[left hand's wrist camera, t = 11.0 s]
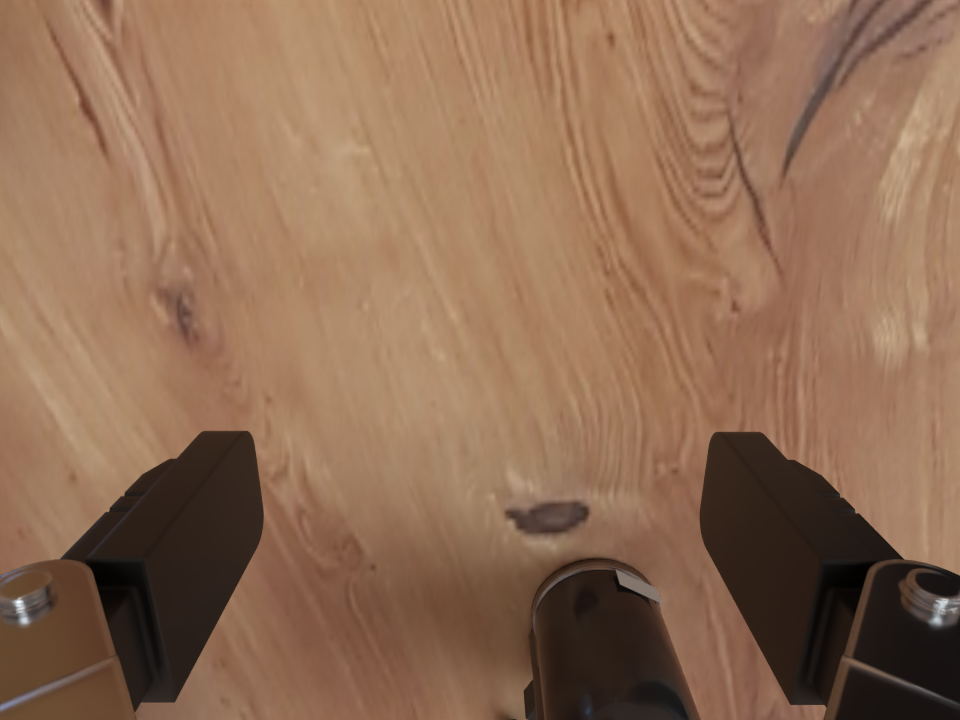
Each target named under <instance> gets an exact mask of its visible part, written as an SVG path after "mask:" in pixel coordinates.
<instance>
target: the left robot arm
mask: <svg viewBox="0 0 960 720" xmlns="http://www.w3.org/2000/svg"><path fill="white" fill-rule="evenodd" d="M263 518H264V514H263V503H262V496H261V488H260V481H259V474H258V466H257V459H256V452H255V445H254V440H253V438H252V435H251V434H250V433H249V432H248V431H203V432H201V433H200V434H199V435H198V436H197V437H196V438H195V439H194V440H193V442H192V443H191V444H190V445H189V446H188V447H187V448H186V449H185V450H184V451H183V452H182V453H181V455H180V456H179V457H178V458H177V459H169V460H167V461H165V462H163V463H162V464H160V465H158V466H156V467H155V468H153V469H151V470H149V471H148V472H146V473H144V474H142V475H141V477H140V478H139V479H138V480H137V481H136V482H135V483H134V484H133V485H132V486H131V487H130V488H129V489H128V490H127V491H126V492H125V496H121V497H120V498H119V499H118V500H117V501H116V502H115V503H114V504H113V505H112V506H111V507H110V511H109V512H105V513H104V514H103V515H102V517H101V518H100V519H99V520H98V521H97V522H96V523H95V524H94V525H93V526H92V527H91V528H90V529H89V530H88V531H87V532H86V533H85V534H84V535H83V536H82V537H81V538H80V539H79V540H78V541H77V542H76V543H75V544H74V545H73V546H72V547H71V548H70V549H69V550H68V551H67V552H66V553H65V554H64V556H63V557H62V558H61V559H60V560H48V561H42V562H38V563H33V564H30V565H26V566H23V567H20V568H17V569H15V570H12V571H10V572H7V573H5V574H3V575H1V576H0V720H137V719H136V716H135V711H136V710H137V708H138V706H139V705H140V703H141V702H175V701H176V699H177V697H178V695H179V693H180V691H181V689H182V688H183V686H184V684H185V682H186V680H187V678H188V676H189V674H190V673H191V671H192V669H193V667H194V665H195V663H196V661H197V659H198V657H199V656H200V654H201V652H202V650H203V648H204V646H205V644H206V642H207V641H208V639H209V637H210V635H211V633H212V631H213V629H214V627H215V625H216V624H217V622H218V620H219V618H220V616H221V614H222V612H223V610H224V609H225V607H226V605H227V603H228V601H229V599H230V597H231V595H232V594H233V592H234V590H235V588H236V586H237V584H238V582H239V580H240V578H241V577H242V575H243V573H244V571H245V569H246V567H247V565H248V563H249V562H250V560H251V558H252V556H253V554H254V552H255V550H256V548H257V546H258V544H259V542H260V538H261V534H262V529H263ZM700 528H701V534H702V538H703V542H704V545H705V547H706V549H707V551H708V553H709V554H710V556H711V558H712V560H713V562H714V564H715V566H716V567H717V569H718V571H719V573H720V575H721V577H722V579H723V580H724V582H725V584H726V586H727V588H728V590H729V592H730V593H731V595H732V597H733V599H734V601H735V603H736V605H737V606H738V608H739V610H740V612H741V614H742V616H743V618H744V619H745V621H746V623H747V625H748V627H749V629H750V631H751V632H752V634H753V636H754V638H755V640H756V642H757V644H758V645H759V647H760V649H761V651H762V653H763V655H764V657H765V658H766V660H767V662H768V664H769V666H770V668H771V670H772V671H773V673H774V675H775V677H776V679H777V681H778V683H779V684H780V686H781V688H782V690H783V692H784V694H785V696H786V697H787V699H788V701H789V703H790V705H825V706H826V708H827V709H826V712H825V716H824V719H823V720H960V576H959V575H957V574H955V573H953V572H950V571H948V570H945V569H943V568H940V567H937V566H934V565H930V564H927V563H922V562H918V561H912V560H904V559H903V558H902V557H901V556H900V555H899V554H898V553H897V552H896V551H895V550H894V549H893V548H892V547H891V546H890V545H889V544H888V543H887V541H886V540H885V539H884V538H883V537H882V536H881V535H880V534H879V533H878V532H877V531H876V530H875V529H874V528H873V527H872V526H871V525H870V524H869V523H868V522H867V521H866V520H865V519H864V518H863V517H862V516H861V515H860V514H856V513H855V509H854V508H853V507H852V506H851V505H850V504H849V503H848V502H847V501H846V500H845V499H844V498H840V494H839V493H838V492H837V491H836V490H835V489H834V488H833V487H832V486H831V485H830V484H829V483H828V482H827V480H826V479H825V478H824V477H823V476H821V475H820V474H818V473H816V472H814V471H813V470H811V469H809V468H807V467H806V466H804V465H802V464H800V463H799V462H797V461H795V460H787V459H786V458H785V457H784V456H783V454H782V453H781V452H780V451H779V450H778V449H777V448H776V447H775V446H774V445H773V444H772V443H771V442H770V440H769V439H768V438H767V437H766V436H765V435H764V434H763V433H761V432H715V433H714V434H713V436H712V437H711V440H710V443H709V449H708V456H707V463H706V470H705V478H704V485H703V492H702V499H701V507H700ZM659 603H662V602H661V599H660V596H659V594H658V591H657V588H655V587H653V586H652V585H651V584H650V582H649V581H648V580H647V579H646V578H645V577H644V576H643V575H642V574H641V573H640V572H638V571H637V570H636V569H634V568H632V567H630V566H628V565H626V564H623V563H620V562H617V561H612V560H604V559H593V560H585V561H580V562H576V563H573V564H570V565H568V566H566V567H564V568H562V569H560V570H558V571H557V572H555V573H554V574H553V575H551V576H550V577H549V578H548V579H547V580H546V581H545V582H544V583H543V584H542V586H541V587H540V589H539V590H538V592H537V594H536V596H535V599H534V602H533V607H532V619H533V630H532V631H531V632H530V634H529V642H530V653H531V663H532V673H533V680H532V681H531V682H530V684H529V685H528V686H527V687H526V689H525V690H524V701H525V714H526V719H528V720H701V719H700V716H699V714H698V711H697V708H696V705H695V703H694V700H693V697H692V695H691V692H690V689H689V687H688V684H687V681H686V679H685V676H684V673H683V671H682V668H681V665H680V663H679V660H678V657H677V654H676V652H675V649H674V646H673V644H672V641H671V638H670V636H669V633H668V630H667V627H666V625H665V622H664V619H663V617H662V614H661V610H660V605H659ZM512 720H516V719H512Z"/></svg>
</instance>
